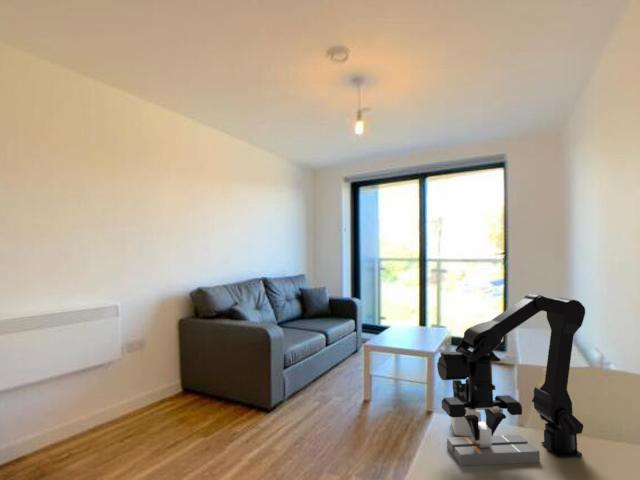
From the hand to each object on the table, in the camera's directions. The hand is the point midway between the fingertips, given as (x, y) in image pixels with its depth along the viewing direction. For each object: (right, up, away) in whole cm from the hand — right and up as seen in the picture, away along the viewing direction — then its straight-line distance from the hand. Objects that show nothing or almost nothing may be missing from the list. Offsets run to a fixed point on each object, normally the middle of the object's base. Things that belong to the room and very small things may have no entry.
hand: (482, 439), depth 91 cm
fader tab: (0, -3, 0) cm, 3 cm away
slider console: (+2, -4, 0) cm, 4 cm away
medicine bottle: (+1, -5, +12) cm, 13 cm away
